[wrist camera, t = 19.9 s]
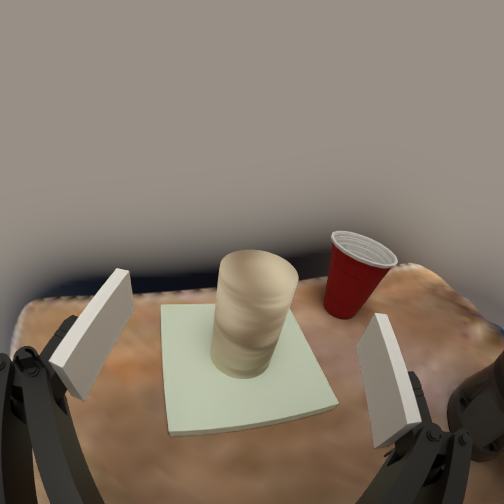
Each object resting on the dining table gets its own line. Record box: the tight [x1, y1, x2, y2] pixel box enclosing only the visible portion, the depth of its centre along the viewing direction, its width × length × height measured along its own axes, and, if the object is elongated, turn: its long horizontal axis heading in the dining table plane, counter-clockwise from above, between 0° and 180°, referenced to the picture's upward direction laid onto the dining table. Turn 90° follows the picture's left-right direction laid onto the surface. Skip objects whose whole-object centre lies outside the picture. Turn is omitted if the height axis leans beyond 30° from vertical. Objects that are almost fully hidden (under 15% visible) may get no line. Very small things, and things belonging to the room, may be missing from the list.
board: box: [161, 304, 339, 436], centre depth 30 cm, size 18×18×2 cm
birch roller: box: [210, 250, 298, 379], centre depth 27 cm, size 7×7×12 cm
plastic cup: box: [324, 231, 398, 319], centre depth 40 cm, size 11×11×12 cm
